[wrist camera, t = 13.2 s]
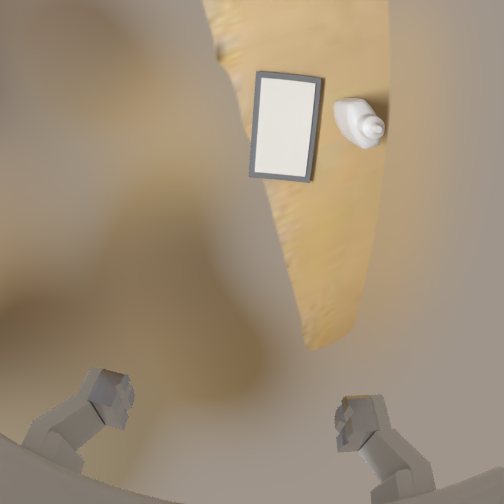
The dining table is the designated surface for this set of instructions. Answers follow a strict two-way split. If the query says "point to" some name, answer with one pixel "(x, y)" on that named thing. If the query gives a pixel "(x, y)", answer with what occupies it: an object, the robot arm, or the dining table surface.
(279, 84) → the paper
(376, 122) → the eye dropper bottle
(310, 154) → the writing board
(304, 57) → the dining table surface
